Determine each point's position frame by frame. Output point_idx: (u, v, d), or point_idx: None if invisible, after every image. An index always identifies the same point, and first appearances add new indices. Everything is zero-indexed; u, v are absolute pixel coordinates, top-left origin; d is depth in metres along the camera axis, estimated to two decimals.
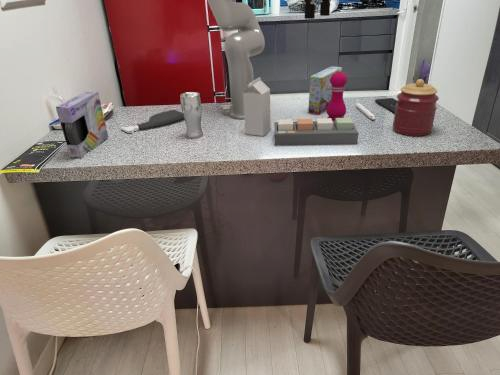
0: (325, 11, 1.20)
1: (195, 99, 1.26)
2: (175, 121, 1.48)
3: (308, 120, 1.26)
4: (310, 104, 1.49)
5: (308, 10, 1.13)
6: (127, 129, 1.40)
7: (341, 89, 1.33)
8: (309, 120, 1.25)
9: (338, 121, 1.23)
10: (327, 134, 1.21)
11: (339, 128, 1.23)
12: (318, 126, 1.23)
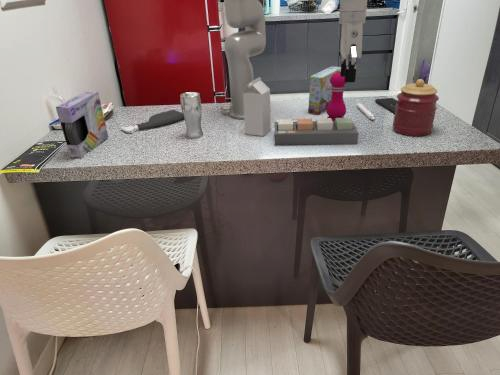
0: None
1: (195, 99, 1.26)
2: (175, 121, 1.48)
3: (308, 120, 1.26)
4: (310, 104, 1.49)
5: None
6: (127, 129, 1.41)
7: (341, 89, 1.33)
8: (309, 120, 1.25)
9: (338, 121, 1.23)
10: (327, 134, 1.21)
11: (339, 128, 1.23)
12: (318, 126, 1.23)
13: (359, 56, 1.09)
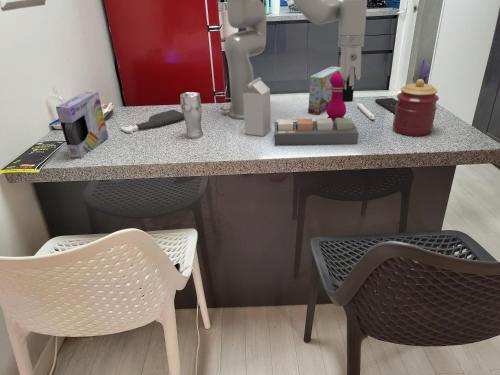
0: None
1: (195, 99, 1.26)
2: (174, 121, 1.48)
3: (308, 120, 1.26)
4: (310, 104, 1.49)
5: None
6: (126, 129, 1.41)
7: (341, 89, 1.33)
8: (309, 120, 1.25)
9: (338, 121, 1.23)
10: (327, 134, 1.21)
11: (339, 128, 1.23)
12: (318, 126, 1.23)
13: (358, 78, 1.12)
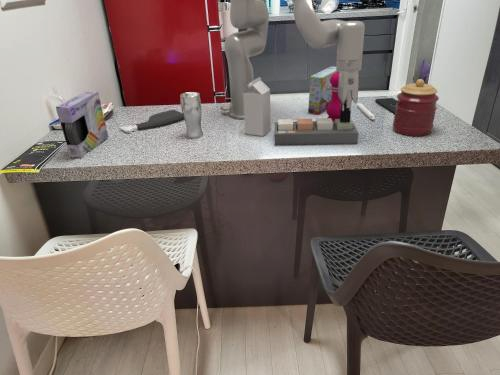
0: None
1: (195, 99, 1.26)
2: (174, 121, 1.48)
3: (308, 120, 1.26)
4: (310, 104, 1.49)
5: None
6: (126, 129, 1.41)
7: None
8: (309, 120, 1.25)
9: (338, 122, 1.23)
10: (327, 134, 1.21)
11: (339, 129, 1.23)
12: (318, 126, 1.23)
13: (355, 101, 1.16)
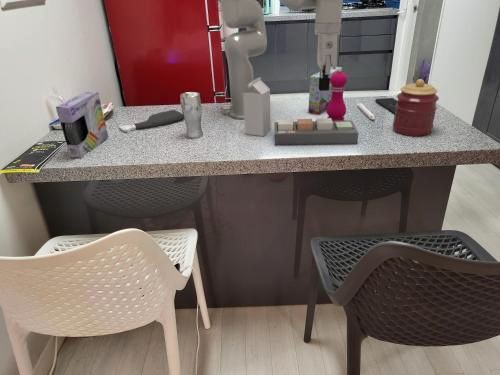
0: None
1: (195, 99, 1.26)
2: (173, 121, 1.48)
3: (308, 120, 1.26)
4: (310, 104, 1.49)
5: None
6: (124, 128, 1.42)
7: (341, 89, 1.33)
8: (309, 120, 1.25)
9: (338, 125, 1.24)
10: (327, 134, 1.21)
11: None
12: (318, 126, 1.23)
13: (334, 66, 1.11)
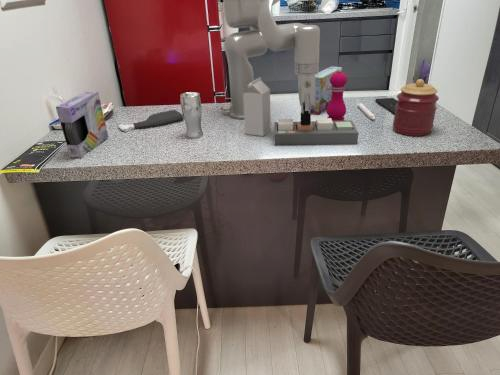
0: None
1: (195, 99, 1.26)
2: (172, 122, 1.48)
3: None
4: None
5: None
6: (122, 127, 1.43)
7: (341, 89, 1.33)
8: None
9: (338, 125, 1.24)
10: (327, 134, 1.21)
11: None
12: (318, 126, 1.23)
13: (313, 104, 1.17)
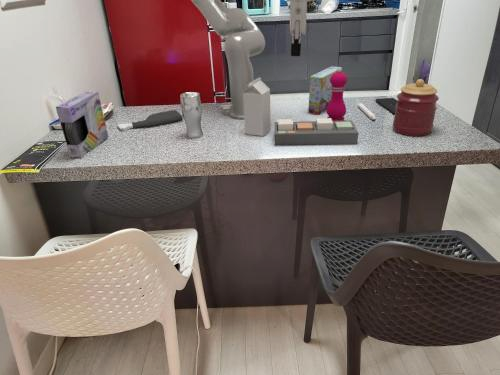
0: None
1: (195, 99, 1.26)
2: (170, 122, 1.48)
3: (308, 124, 1.26)
4: (310, 104, 1.49)
5: None
6: (121, 126, 1.44)
7: (341, 89, 1.33)
8: (309, 124, 1.26)
9: (338, 125, 1.24)
10: (327, 134, 1.21)
11: None
12: (318, 126, 1.23)
13: (303, 32, 1.19)
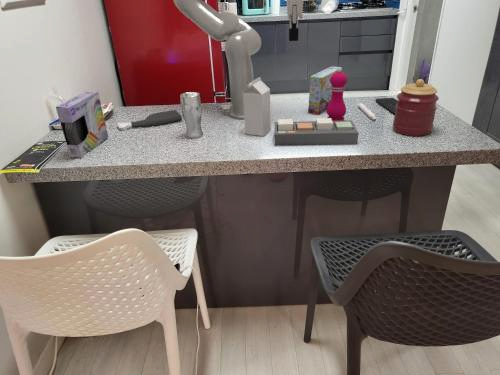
0: None
1: (195, 99, 1.26)
2: (169, 122, 1.47)
3: (308, 124, 1.26)
4: (310, 104, 1.49)
5: None
6: (120, 126, 1.44)
7: (341, 89, 1.33)
8: (309, 124, 1.26)
9: (338, 125, 1.24)
10: (327, 134, 1.21)
11: None
12: (318, 126, 1.23)
13: (300, 16, 1.23)
